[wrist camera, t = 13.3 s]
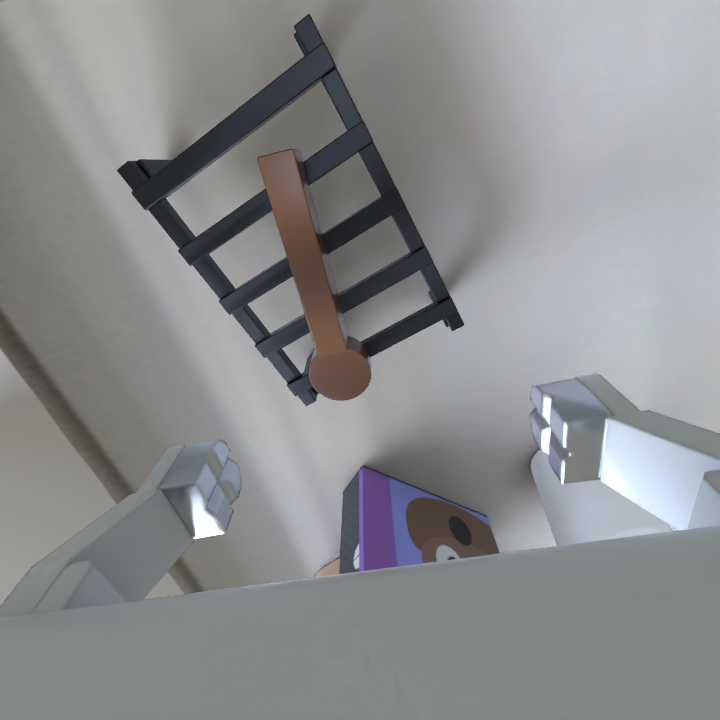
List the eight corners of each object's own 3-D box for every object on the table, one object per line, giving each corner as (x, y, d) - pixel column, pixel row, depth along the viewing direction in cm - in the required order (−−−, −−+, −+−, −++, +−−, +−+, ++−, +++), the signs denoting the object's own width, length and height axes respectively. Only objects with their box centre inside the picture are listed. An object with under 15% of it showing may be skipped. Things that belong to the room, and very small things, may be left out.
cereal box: (486, 515, 46) (594, 817, 25) (463, 538, 48) (545, 835, 27) (362, 465, 42) (365, 773, 21) (343, 491, 44) (328, 797, 23)
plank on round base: (247, 163, 22) (234, 163, 19) (320, 144, 21) (315, 142, 19) (320, 391, 29) (317, 410, 27) (375, 380, 29) (377, 399, 26)
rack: (166, 168, 28) (112, 170, 22) (321, 47, 25) (308, 10, 19) (314, 367, 36) (305, 409, 30) (446, 296, 33) (466, 327, 27)
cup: (519, 435, 40) (576, 534, 29) (606, 422, 39) (697, 519, 29) (518, 494, 44) (569, 598, 34) (597, 483, 43) (674, 587, 33)
